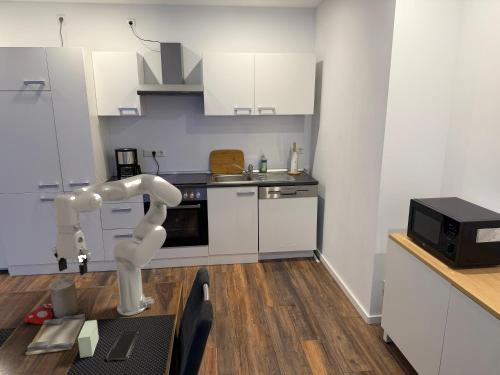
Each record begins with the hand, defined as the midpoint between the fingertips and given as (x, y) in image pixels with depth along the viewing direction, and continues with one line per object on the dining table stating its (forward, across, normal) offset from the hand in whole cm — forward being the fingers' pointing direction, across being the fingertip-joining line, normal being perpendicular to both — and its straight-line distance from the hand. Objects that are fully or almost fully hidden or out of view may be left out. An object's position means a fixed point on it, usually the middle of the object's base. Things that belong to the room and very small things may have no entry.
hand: (73, 271), depth 126 cm
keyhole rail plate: (+27, +8, +3) cm, 28 cm away
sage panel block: (+27, -9, +4) cm, 29 cm away
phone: (+27, -20, 0) cm, 34 cm away
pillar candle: (+27, +18, -11) cm, 34 cm away
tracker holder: (+27, +25, -5) cm, 37 cm away
